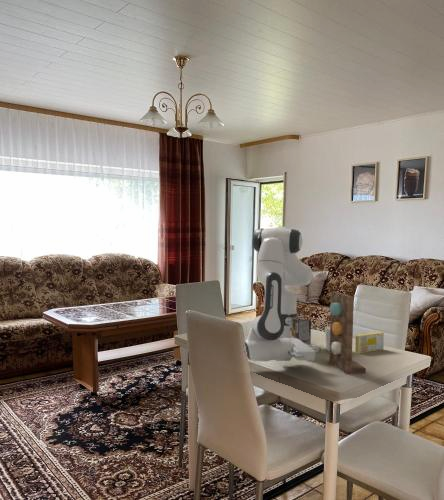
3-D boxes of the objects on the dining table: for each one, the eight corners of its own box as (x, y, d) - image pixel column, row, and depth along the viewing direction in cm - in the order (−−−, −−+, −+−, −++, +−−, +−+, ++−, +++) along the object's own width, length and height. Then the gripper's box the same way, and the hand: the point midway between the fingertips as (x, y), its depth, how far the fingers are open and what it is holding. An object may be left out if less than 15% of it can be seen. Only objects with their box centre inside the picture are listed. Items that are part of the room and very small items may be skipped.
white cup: (323, 350, 200) (324, 329, 200) (325, 346, 208) (326, 325, 207) (341, 352, 197) (341, 330, 197) (342, 348, 205) (343, 327, 204)
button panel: (329, 361, 183) (331, 291, 182) (346, 360, 184) (349, 291, 183) (346, 373, 167) (349, 297, 166) (365, 373, 169) (368, 297, 167)
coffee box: (310, 356, 190) (312, 320, 189) (298, 357, 188) (299, 321, 187) (300, 350, 199) (301, 316, 198) (287, 351, 196) (288, 317, 196)
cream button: (331, 352, 177) (331, 340, 177) (339, 352, 178) (339, 340, 177) (336, 356, 172) (336, 343, 172) (344, 355, 173) (344, 343, 172)
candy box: (380, 348, 205) (381, 331, 205) (383, 350, 203) (384, 332, 203) (354, 352, 198) (355, 334, 198) (358, 353, 196) (358, 335, 196)
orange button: (331, 333, 177) (332, 321, 176) (339, 333, 177) (340, 321, 177) (337, 336, 172) (337, 323, 172) (345, 336, 172) (345, 323, 172)
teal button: (329, 313, 176) (330, 301, 176) (337, 313, 177) (338, 301, 176) (334, 316, 171) (335, 303, 171) (343, 316, 172) (343, 303, 172)
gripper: (293, 348, 160) (328, 347, 163) (277, 335, 181) (308, 334, 183) (293, 365, 161) (328, 364, 163) (276, 350, 181) (308, 349, 183)
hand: (317, 348), depth 173 cm, fingers closed
